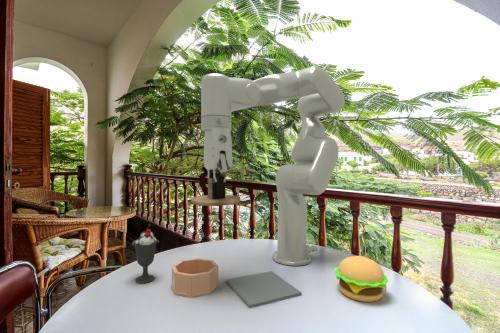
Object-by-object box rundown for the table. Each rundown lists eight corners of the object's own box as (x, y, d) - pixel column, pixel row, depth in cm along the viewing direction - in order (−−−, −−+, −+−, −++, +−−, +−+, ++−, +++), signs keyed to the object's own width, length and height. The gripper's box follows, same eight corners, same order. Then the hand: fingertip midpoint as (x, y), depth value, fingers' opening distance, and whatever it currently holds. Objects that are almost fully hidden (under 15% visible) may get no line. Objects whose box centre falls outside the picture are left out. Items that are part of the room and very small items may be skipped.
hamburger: (352, 308, 57) (353, 268, 57) (325, 283, 69) (326, 251, 69) (399, 303, 59) (400, 265, 59) (366, 280, 71) (367, 249, 71)
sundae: (149, 286, 65) (150, 226, 65) (125, 283, 67) (127, 225, 67) (163, 275, 72) (164, 221, 72) (141, 273, 73) (142, 219, 73)
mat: (271, 273, 75) (271, 271, 75) (301, 295, 62) (301, 292, 62) (225, 281, 69) (225, 279, 69) (249, 308, 56) (249, 305, 56)
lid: (230, 197, 74) (230, 176, 74) (248, 203, 63) (248, 178, 63) (186, 199, 69) (186, 177, 69) (197, 207, 58) (197, 180, 58)
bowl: (209, 274, 73) (209, 256, 73) (222, 291, 64) (223, 270, 64) (168, 281, 69) (169, 262, 69) (176, 300, 59) (177, 278, 59)
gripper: (242, 121, 60) (242, 201, 60) (220, 129, 75) (220, 193, 75) (211, 119, 57) (211, 203, 57) (194, 128, 72) (194, 194, 72)
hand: (216, 196), depth 66 cm, fingers closed on lid, 3 cm apart
